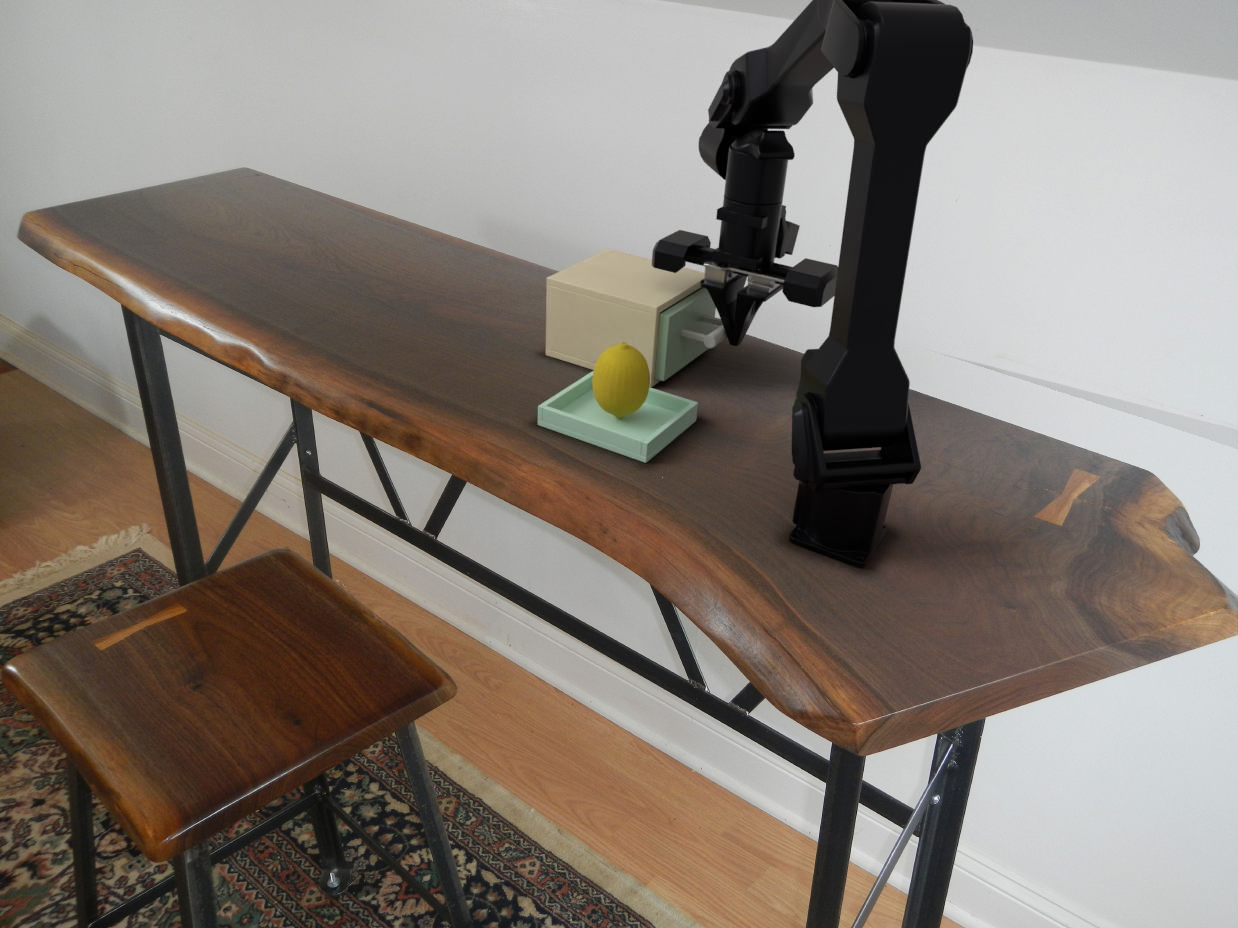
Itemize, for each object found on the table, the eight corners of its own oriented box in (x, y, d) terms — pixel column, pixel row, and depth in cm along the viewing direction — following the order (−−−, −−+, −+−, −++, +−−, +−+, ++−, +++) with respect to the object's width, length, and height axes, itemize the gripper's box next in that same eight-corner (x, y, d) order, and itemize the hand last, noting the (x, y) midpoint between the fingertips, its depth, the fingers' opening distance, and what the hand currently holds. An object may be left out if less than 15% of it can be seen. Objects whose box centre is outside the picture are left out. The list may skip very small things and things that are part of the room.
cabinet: (704, 349, 111) (712, 274, 106) (650, 388, 101) (657, 307, 97) (604, 321, 116) (608, 248, 112) (545, 355, 107) (546, 277, 102)
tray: (696, 421, 95) (698, 402, 94) (646, 463, 88) (647, 443, 87) (593, 387, 101) (594, 369, 100) (537, 425, 93) (537, 406, 92)
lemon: (647, 433, 92) (653, 357, 87) (589, 430, 91) (592, 353, 87) (646, 406, 96) (652, 333, 92) (592, 403, 96) (595, 329, 92)
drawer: (745, 356, 108) (753, 294, 104) (699, 392, 99) (706, 327, 95) (618, 320, 115) (621, 261, 111) (565, 351, 106) (567, 289, 102)
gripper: (872, 197, 95) (845, 342, 103) (705, 165, 103) (692, 302, 111) (833, 223, 87) (807, 378, 95) (654, 186, 95) (644, 332, 103)
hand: (735, 344), depth 101 cm, fingers closed
